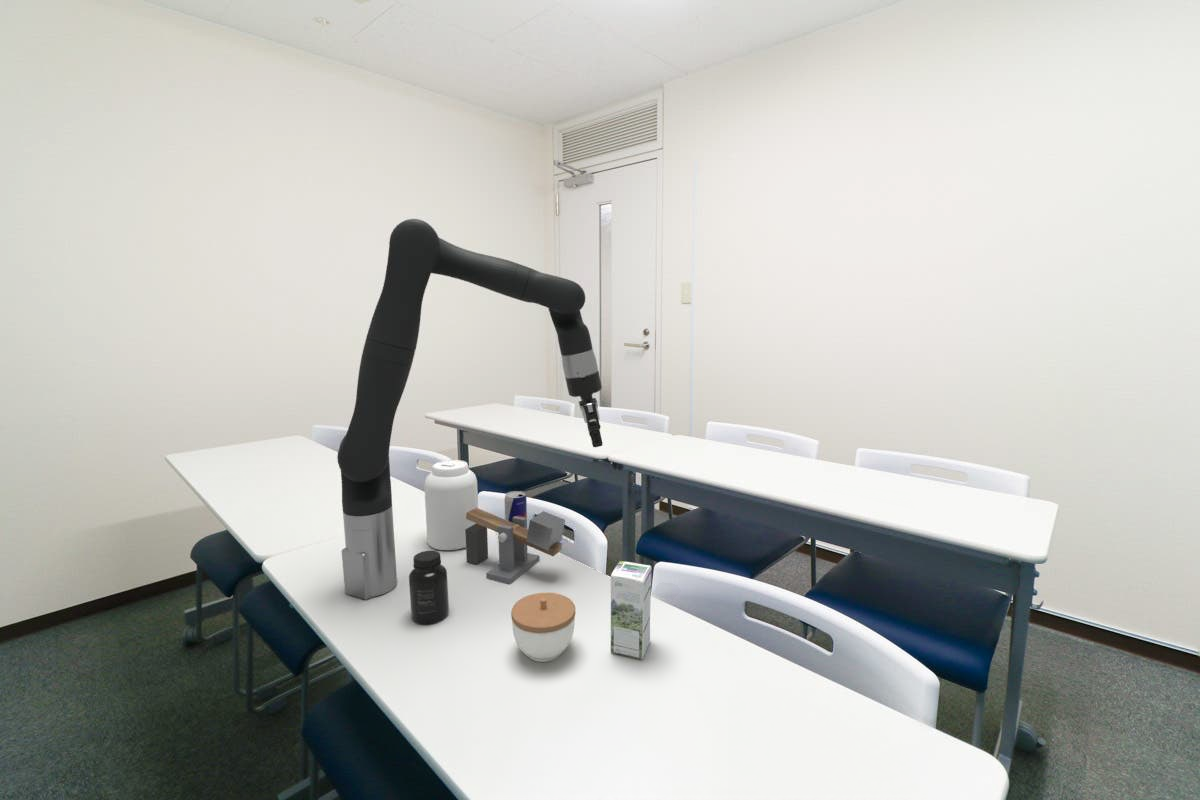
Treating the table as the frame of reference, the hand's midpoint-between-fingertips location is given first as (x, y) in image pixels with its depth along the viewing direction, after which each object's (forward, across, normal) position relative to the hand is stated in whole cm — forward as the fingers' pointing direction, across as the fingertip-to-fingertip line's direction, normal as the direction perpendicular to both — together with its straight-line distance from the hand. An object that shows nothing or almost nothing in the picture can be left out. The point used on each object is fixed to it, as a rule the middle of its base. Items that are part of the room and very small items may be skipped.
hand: (596, 440), depth 123 cm
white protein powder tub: (+20, -10, -40) cm, 46 cm away
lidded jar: (+24, +36, -17) cm, 46 cm away
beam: (+14, +6, -22) cm, 27 cm away
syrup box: (+26, +37, -3) cm, 45 cm away
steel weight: (+16, +10, -16) cm, 25 cm away
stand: (+22, +4, -28) cm, 36 cm away
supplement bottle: (+20, +23, -38) cm, 49 cm away
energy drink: (+24, -9, -24) cm, 35 cm away
